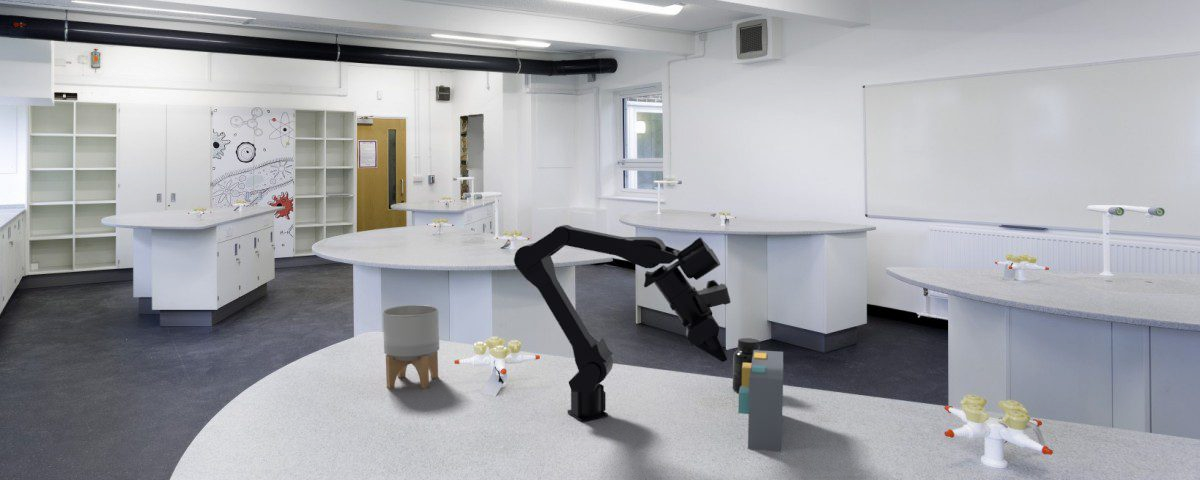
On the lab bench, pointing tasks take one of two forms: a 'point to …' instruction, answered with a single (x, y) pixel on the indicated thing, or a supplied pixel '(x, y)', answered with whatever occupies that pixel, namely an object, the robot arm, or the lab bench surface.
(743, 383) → the amber button
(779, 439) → the button panel
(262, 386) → the lab bench surface
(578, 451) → the lab bench surface
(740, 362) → the supplement bottle
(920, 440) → the lab bench surface
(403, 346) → the planter
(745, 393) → the teal button
